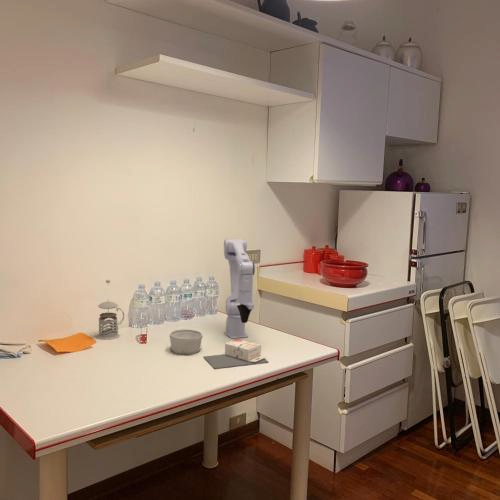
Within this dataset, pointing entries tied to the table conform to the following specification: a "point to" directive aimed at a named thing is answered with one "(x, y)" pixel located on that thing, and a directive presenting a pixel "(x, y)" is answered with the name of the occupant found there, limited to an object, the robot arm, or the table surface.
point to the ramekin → (185, 341)
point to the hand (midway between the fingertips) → (244, 322)
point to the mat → (229, 361)
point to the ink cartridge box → (243, 350)
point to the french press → (108, 321)
